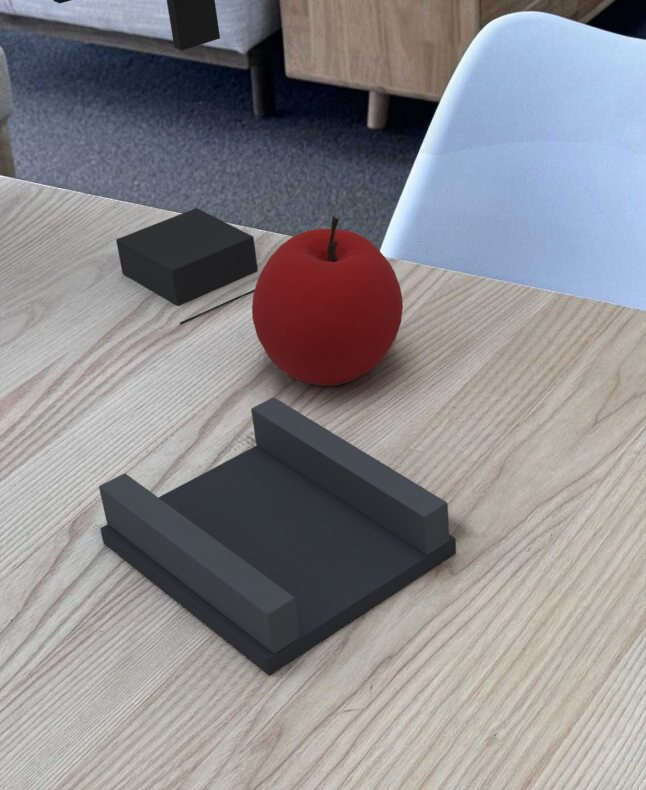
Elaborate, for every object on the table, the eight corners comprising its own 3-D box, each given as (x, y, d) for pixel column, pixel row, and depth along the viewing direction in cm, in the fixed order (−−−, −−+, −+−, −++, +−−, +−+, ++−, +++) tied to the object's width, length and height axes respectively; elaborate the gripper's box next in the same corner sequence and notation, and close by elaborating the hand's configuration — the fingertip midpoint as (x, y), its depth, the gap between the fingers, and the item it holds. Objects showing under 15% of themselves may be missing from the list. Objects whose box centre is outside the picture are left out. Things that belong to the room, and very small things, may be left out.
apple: (272, 328, 91) (254, 187, 85) (411, 327, 91) (402, 185, 85) (249, 408, 83) (228, 258, 77) (401, 406, 83) (391, 256, 77)
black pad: (125, 291, 95) (115, 239, 93) (204, 258, 99) (196, 207, 97) (180, 324, 91) (171, 270, 89) (260, 289, 95) (254, 236, 93)
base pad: (103, 542, 73) (90, 489, 71) (285, 444, 80) (279, 393, 78) (269, 675, 64) (260, 619, 63) (456, 553, 72) (453, 498, 70)
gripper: (262, -371, 69) (308, 47, 81) (11, -388, 84) (80, -32, 96) (131, -358, 65) (200, 83, 76) (-109, -378, 80) (-22, -7, 91)
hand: (133, 20), depth 86 cm, fingers open, 13 cm apart
